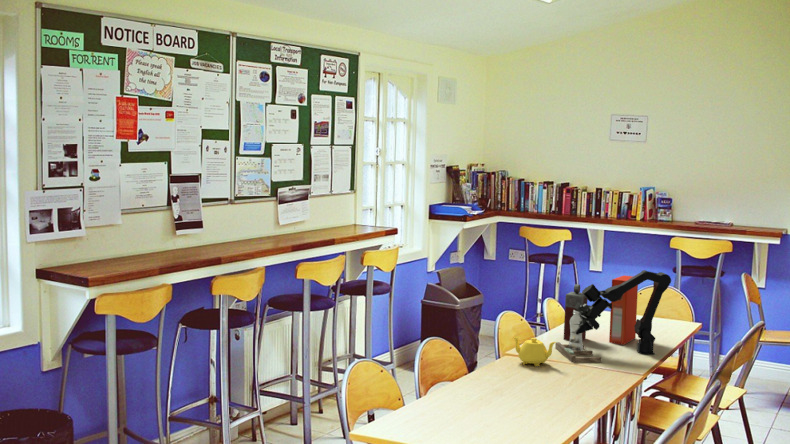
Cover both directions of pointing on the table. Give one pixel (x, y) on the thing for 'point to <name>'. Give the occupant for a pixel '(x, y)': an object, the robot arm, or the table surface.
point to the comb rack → (576, 354)
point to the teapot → (533, 351)
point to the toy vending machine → (570, 306)
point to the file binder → (623, 314)
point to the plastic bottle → (575, 324)
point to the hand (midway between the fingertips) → (573, 332)
